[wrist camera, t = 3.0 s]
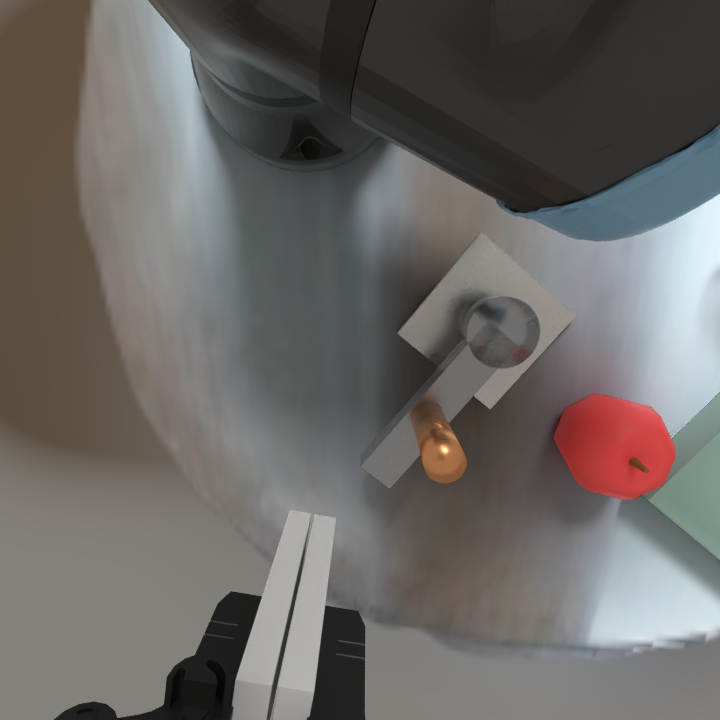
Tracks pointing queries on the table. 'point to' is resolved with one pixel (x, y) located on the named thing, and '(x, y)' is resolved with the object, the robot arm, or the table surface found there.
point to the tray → (695, 480)
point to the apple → (615, 446)
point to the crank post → (463, 289)
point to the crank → (453, 392)
